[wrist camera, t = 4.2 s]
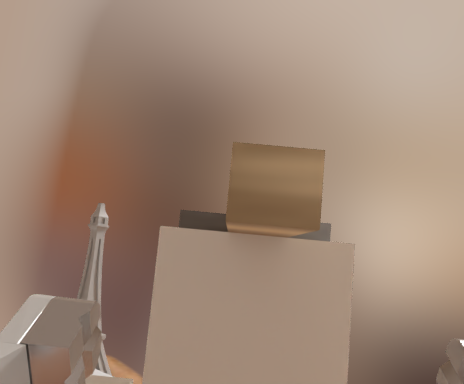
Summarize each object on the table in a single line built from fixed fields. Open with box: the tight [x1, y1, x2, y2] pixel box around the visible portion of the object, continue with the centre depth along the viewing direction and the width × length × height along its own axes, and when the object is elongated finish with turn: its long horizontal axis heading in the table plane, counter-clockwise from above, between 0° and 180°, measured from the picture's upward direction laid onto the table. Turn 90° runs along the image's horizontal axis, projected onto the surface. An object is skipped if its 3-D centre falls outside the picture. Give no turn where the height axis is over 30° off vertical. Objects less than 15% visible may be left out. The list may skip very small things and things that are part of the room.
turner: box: [179, 142, 331, 242], centre depth 25 cm, size 23×9×3 cm, turn 0°
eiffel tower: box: [77, 203, 112, 376], centre depth 59 cm, size 13×13×30 cm
